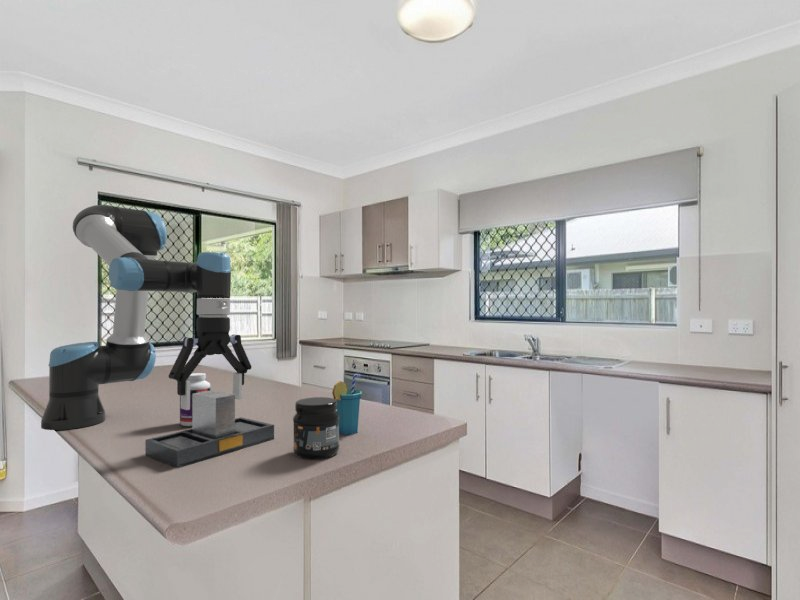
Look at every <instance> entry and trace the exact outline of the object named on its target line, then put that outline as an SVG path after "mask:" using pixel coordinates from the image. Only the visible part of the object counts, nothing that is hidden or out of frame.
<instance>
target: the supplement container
mask: <svg viewBox="0 0 800 600" xmlns="http://www.w3.org/2000/svg"><path fill="white" fill-rule="evenodd" d="M294 404H295V407H294V408H295V409H294V411H295V414H294V415H293V417H292V421H293V447H292V448H293V449H292V451H293V454H294V455H295V456H296V457H298V458H300V459H303V460H311V461H312V460H314V461H315V460H323V459H327V458H330V457H333V456H335V455H336V454H337V453H338V452H339V450H340V433H339V413H338V412H337V400H336V399H334V397H328V396H318V397H317V396H315V397H306V398H301V399H299V400H297V401H295V403H294Z"/></svg>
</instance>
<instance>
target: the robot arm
mask: <svg viewBox="0 0 800 600" xmlns="http://www.w3.org/2000/svg"><path fill="white" fill-rule="evenodd" d="M72 231H73V233H74V236H75V237H76V239H77V240H78V241H79V242H80V243H81V244H82V245H84V246H85V247H88V248H91V249H92V250H93V251H94V252H95V253H96V254H97V255H98V256H99V257H100V259H102V260H103V261H104V262H105V263H106V265H108V280H109V283H110V286H111V287H112V288H113V289H115V290H116V292H115V303H114V306H115V307H114V314H113V315H114V318H113V328H112V334H110V335H109V336H108V337H107V338H106V340H105V345H100V343H99V342H97V341H88V342H87V341H86V342H78V343H72V344H67V345H61V346H58V347H55V348H53V349H52V350H51V351H50V354H49V360H48V361H49V362H48V367H49V374H48V375H49V378H48V379H49V383H48V384H49V385H48V386H49V389H48V390H49V391H48V392H49V394H48V395H49V396H48V402H47V404H46V408H45V409H44V413H43V415H42V417H41V421H40V426H41V427H40V429H43V430H46V431H60V430H61V431H62V430H63V431H64V430H72V429H79V428H80V429H81V428H87V427H90V426H94V425H98V424H101V423H103V422H105V420H106V411H105V408H104V405H103V403H102V401H101V398H100V395H99V385H105V384H113V383H122V382H134V381H138V380H143V379H146V378H147V377H148V376H150V374H152V372H153V370H154V368H155V364H156V357H157V355H156V354H157V353H155V352H156V348H155V346H154V345H153V343H151V342H150V339H149V337H148V336H147V335H146V333H145V332H146V323H147V322H146V320H147V312H148V311H147V309H148V298H149V292H171V293H172V292H175V293H176V292H177V293H178V292H179V293H186V294H187V293H190V294H191V293H196V315H198V316H199V317H197V318H196V338H193V337H187V336H185V337H184V338H183V341H182V347H181V349H180V351H179V353H178V356H177V358H176V360H175V361H174V363H173V366H172V368H171V369H170V372H169V374H168V379H170V380H175V381H176V383H177V390H176V391H177V395H178V396H180V395H181V409H185V410H190V381H187V379H188V377H189V376H190V375H191V374H192V373H194V371H195V369H196V368H197V367H198V366H199V364H200V363H201V362H202V360H203V359H204V358H206V357H207V356H213V355H222V356H223V357H224V358H225V360H226V361H227V362H228V364H229V365H230V366H231V367H232V368H233V369H234V371H235V372H232V394H233V395H235V400H239V401H240V400H242V398H243V397H242V396H243V392H242V391H243V388H242V387H243V386H244V384H245V374H247V372H248V370H249V371H250V370H252V364H251V362H250V360H249V357H248V355H247V353H246V351H245V348H244V346H243V344H242V336H241V335H240V334H231V335H230V334H229V333H230V331H231V318H230V317H229V315H230V314H231V285H232V284H231V283H232V282H231V280H232V279H231V278H232V266H231V257H230V255H229V254H228V253H223V252H217V251H205V252H203V251H202V252H200V253H198V255H197V259H196V260H197V261H196V262H186V261H184V262H183V261H173V260H163V259H161V260H159V259H155V258H156V257H158V251H161V250H163V249H165V247H166V245H167V239H168V234H167V232H168V231H167V227H166V223H165V222H164V220H163V218H162V217H161V216H160V215H159V214H157V213H155V212H150V211H147V210H144V209H142V210H141V209H135V208H129V207H123V206H121V207H120V206H113V205H110V204H109V205H107V204H96V205H91V206H88V207H86V208H84V209H82V210H80V212H78V213H77V214H76V216H75V217H74V219H73V221H72ZM229 343H230V344H231V346H232V348H233V350H232V349H231V348H230V347H229V346H228V345H229ZM196 346H197V348H196V349H195V351H194V352H193V355H192V356H191V354H192V351H193V348H194V347H196ZM233 351H234V352H235V354H234V353H233ZM235 355H236V356H235ZM190 356H191V358H190V359H189V357H190Z"/></svg>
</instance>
